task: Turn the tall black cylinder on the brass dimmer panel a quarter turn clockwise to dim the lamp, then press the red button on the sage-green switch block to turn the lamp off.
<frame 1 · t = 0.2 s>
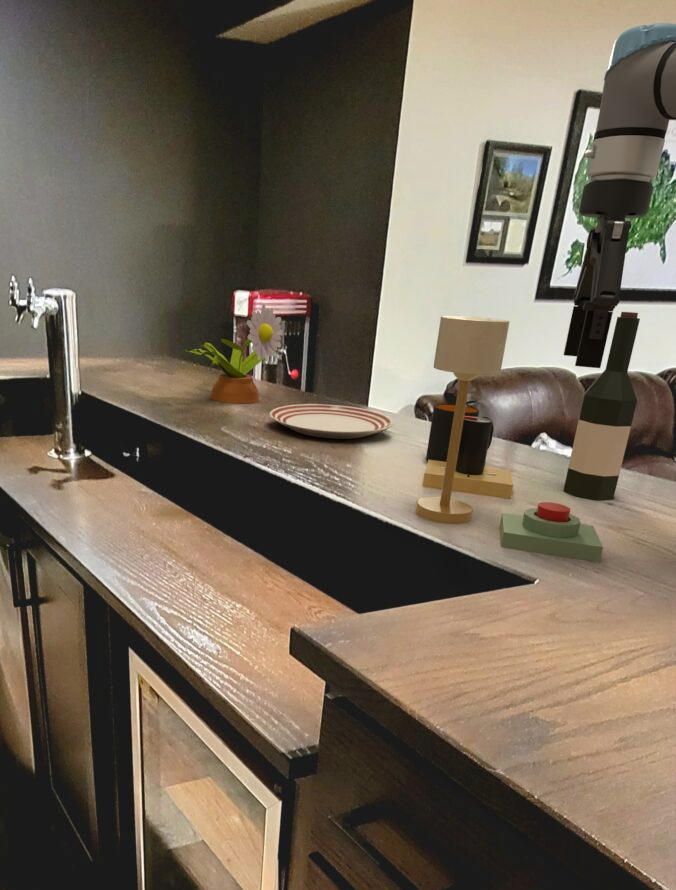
hand: (580, 361, 93), 24 cm above the counter, tool pointing down, fingers open, 13 cm apart
wine bottle: (587, 494, 124), on the counter
dimmer: (466, 485, 124), on the counter
dinner plate: (329, 430, 162), on the counter
lamp button: (553, 512, 97), point 4 cm above the counter, slide at 0.1 cm
lamp: (442, 515, 108), on the counter
mug: (457, 462, 140), on the counter
black cylinder: (473, 444, 122), point 7 cm above the counter, hinge at 0.0°
decorative plant: (234, 398, 194), on the counter
switch block: (546, 543, 99), on the counter
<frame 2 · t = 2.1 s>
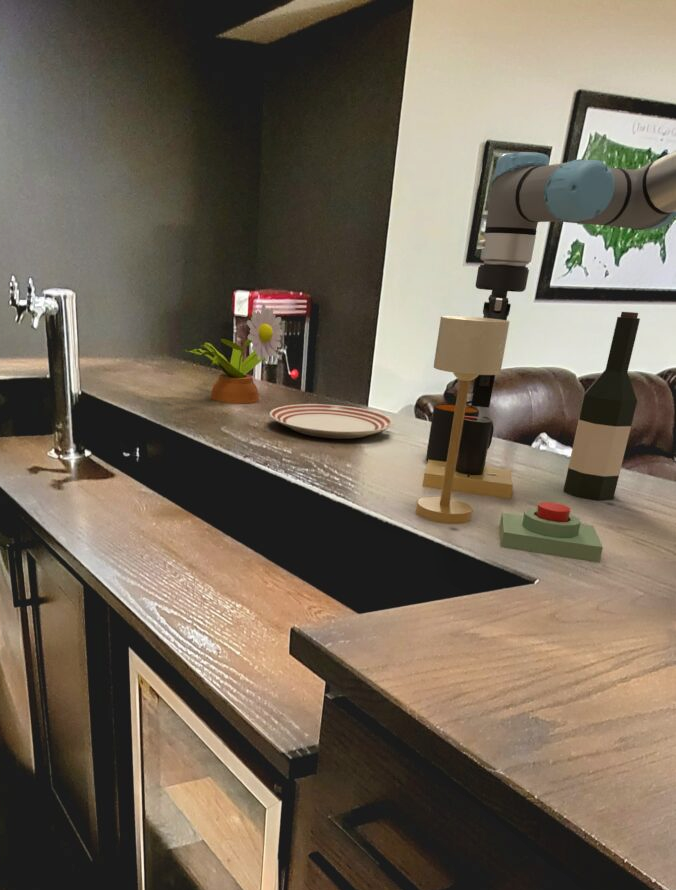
hand: (480, 399, 119), 15 cm above the counter, tool pointing down, fingers open, 13 cm apart
nothing on the counter moved.
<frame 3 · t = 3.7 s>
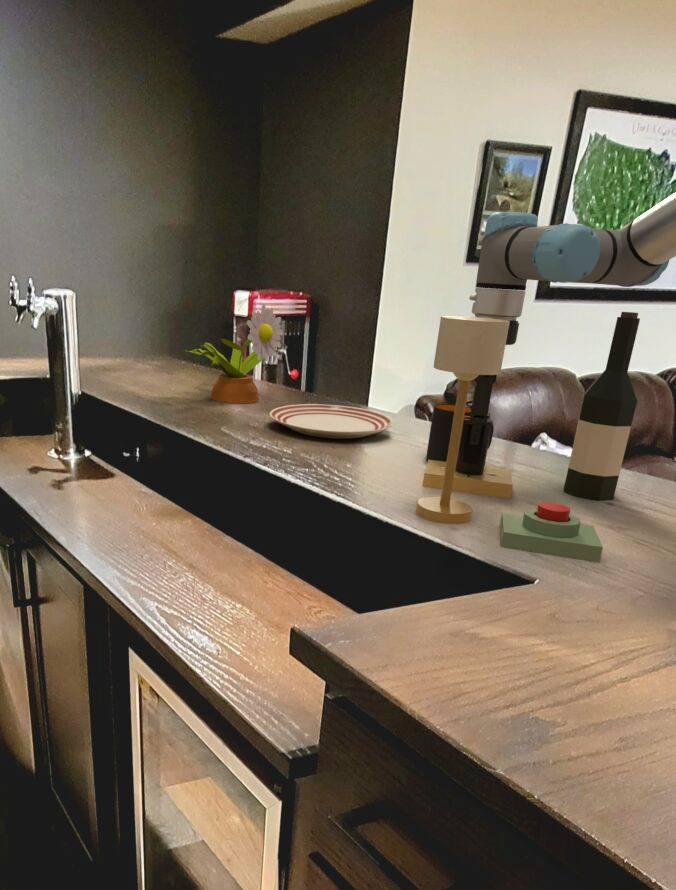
hand: (470, 458, 123), 5 cm above the counter, tool pointing down, fingers closed on black cylinder, 5 cm apart
black cylinder: (473, 444, 122), point 7 cm above the counter, hinge at 0.0°, touching gripper
everything else where it was.
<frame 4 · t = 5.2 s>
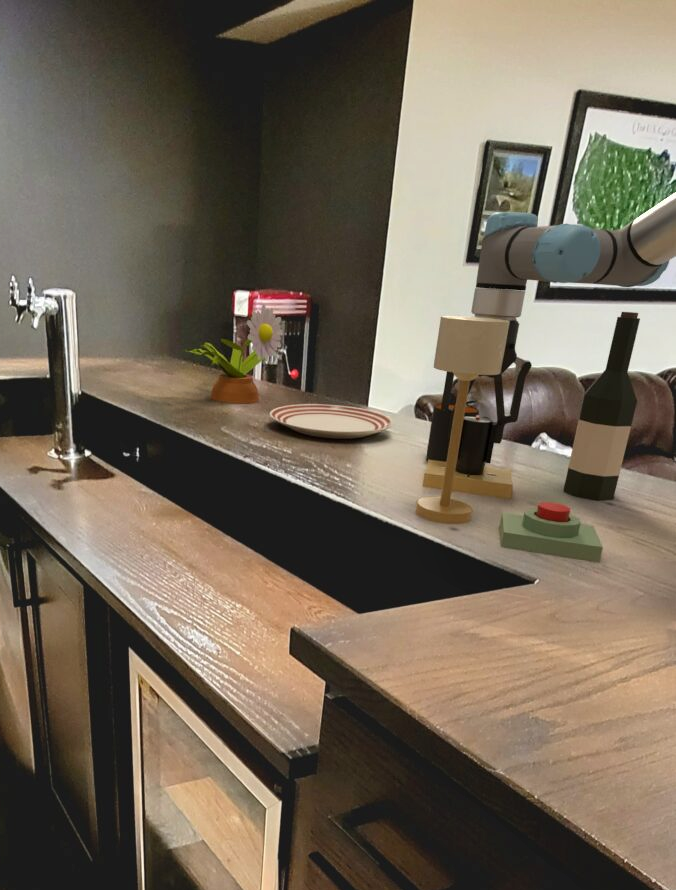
hand: (470, 458, 123), 5 cm above the counter, tool pointing down, fingers closed on black cylinder, 5 cm apart
black cylinder: (473, 444, 122), point 7 cm above the counter, hinge at -90.1°, touching gripper
everything else where it was.
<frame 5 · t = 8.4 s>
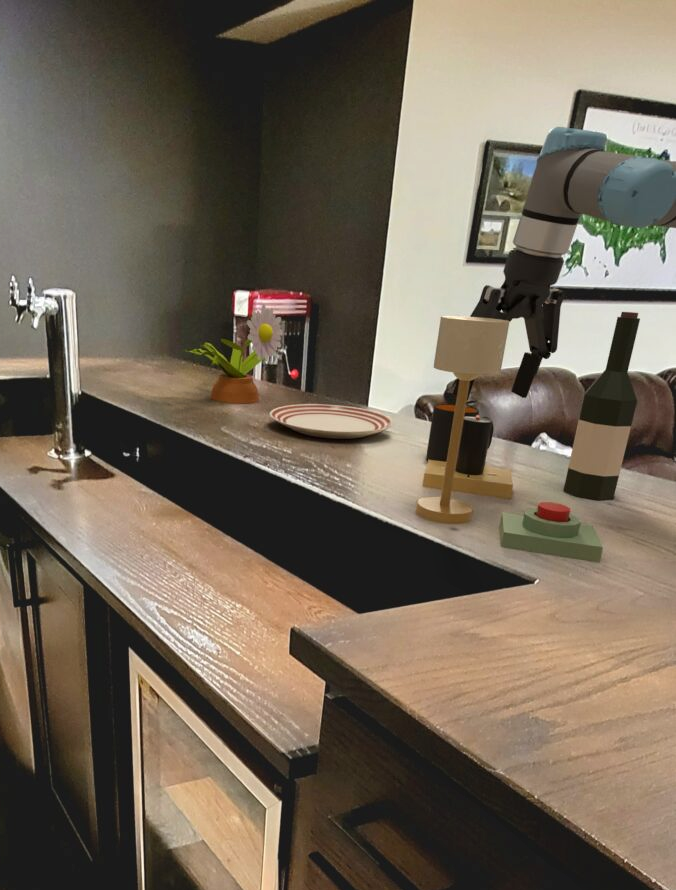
hand: (489, 396, 113), 16 cm above the counter, tool pointing down, fingers open, 11 cm apart
black cylinder: (473, 444, 122), point 7 cm above the counter, hinge at -89.6°
everything else where it was.
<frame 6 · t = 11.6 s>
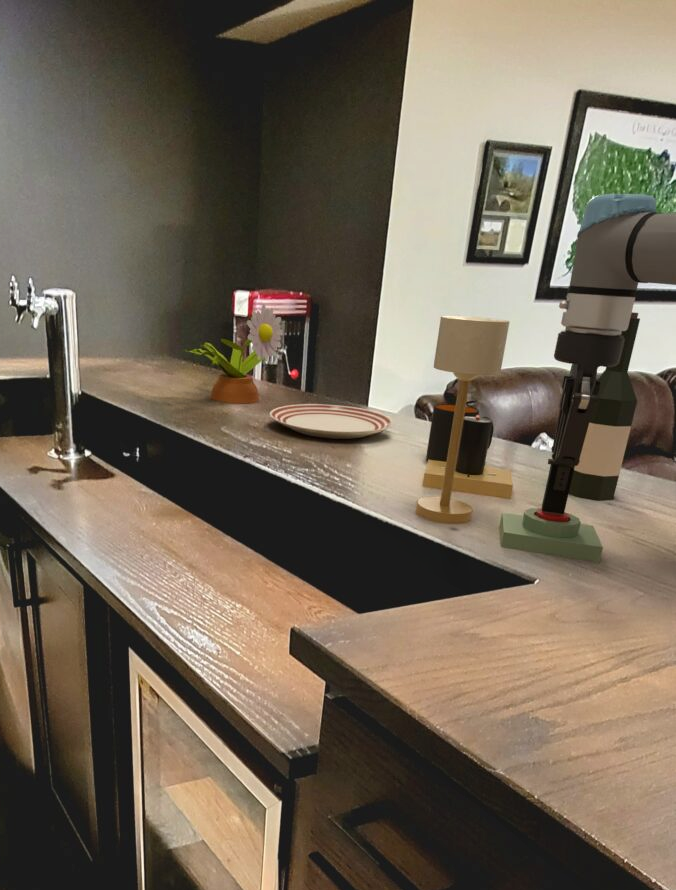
hand: (552, 510, 97), 5 cm above the counter, tool pointing down, fingers closed
lamp button: (551, 519, 97), point 4 cm above the counter, slide at -0.8 cm, touching gripper
everything else where it was.
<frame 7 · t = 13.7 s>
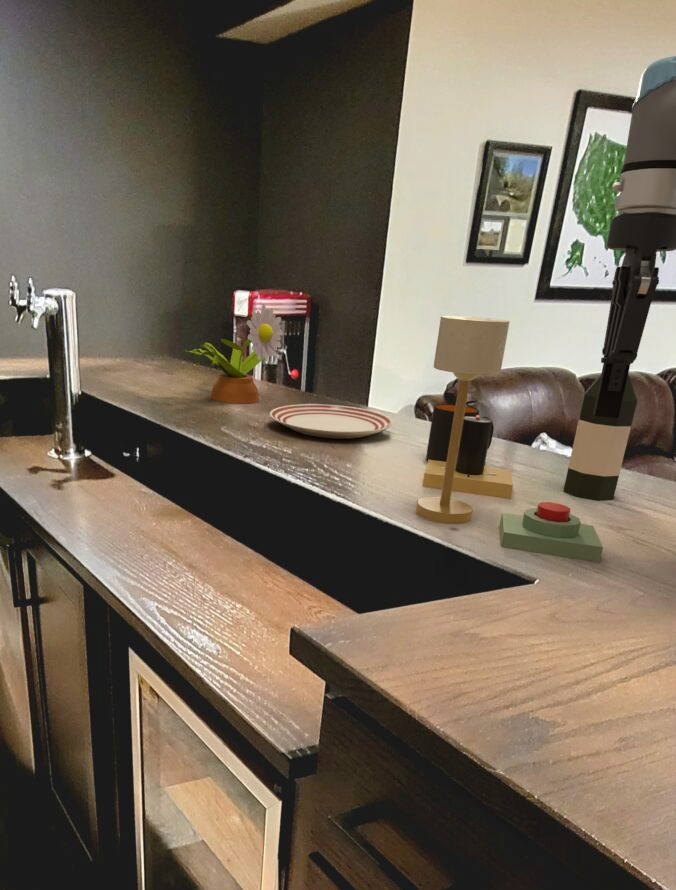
hand: (605, 415, 91), 18 cm above the counter, tool pointing down, fingers closed
lamp button: (553, 512, 97), point 4 cm above the counter, slide at 0.1 cm
everything else where it was.
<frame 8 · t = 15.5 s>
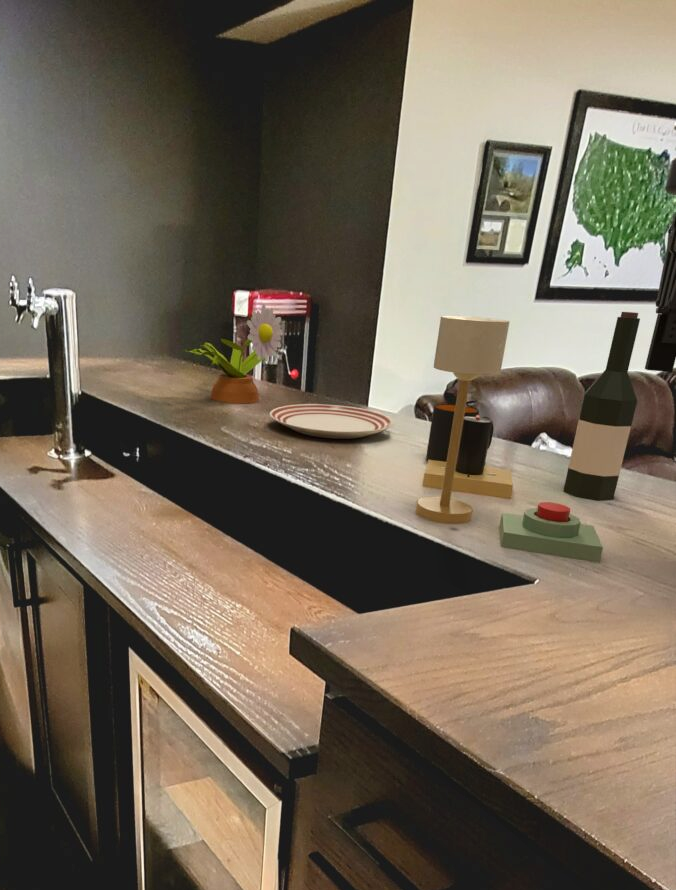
hand: (658, 370, 87), 24 cm above the counter, tool pointing down, fingers closed
nothing on the counter moved.
at the end: black cylinder at -90° (first picture: +0°); lamp button pushed in 1.0 cm at the most during the clip, back to where it started at the end; lamp button slide at 0.1 cm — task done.
